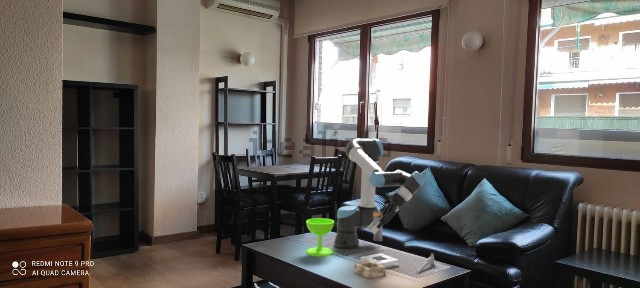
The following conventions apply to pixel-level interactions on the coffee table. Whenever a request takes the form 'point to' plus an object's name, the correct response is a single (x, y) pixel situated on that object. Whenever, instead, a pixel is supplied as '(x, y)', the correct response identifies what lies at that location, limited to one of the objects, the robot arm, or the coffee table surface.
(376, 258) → the socket block
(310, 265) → the coffee table surface
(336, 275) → the coffee table surface
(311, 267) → the coffee table surface
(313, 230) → the wineglass
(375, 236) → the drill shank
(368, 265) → the tan open tray
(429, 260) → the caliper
